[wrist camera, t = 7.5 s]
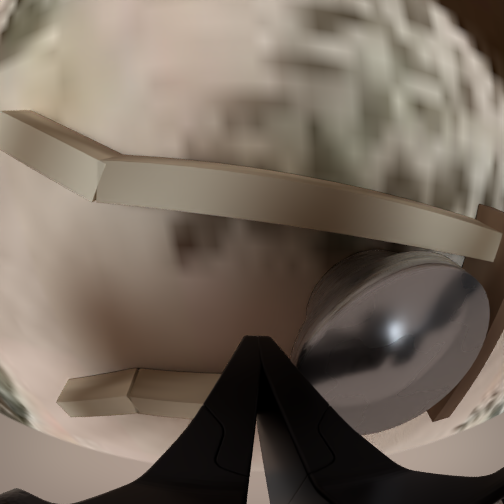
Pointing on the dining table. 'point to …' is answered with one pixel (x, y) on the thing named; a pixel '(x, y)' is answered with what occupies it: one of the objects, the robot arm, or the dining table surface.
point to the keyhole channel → (249, 208)
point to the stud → (390, 335)
